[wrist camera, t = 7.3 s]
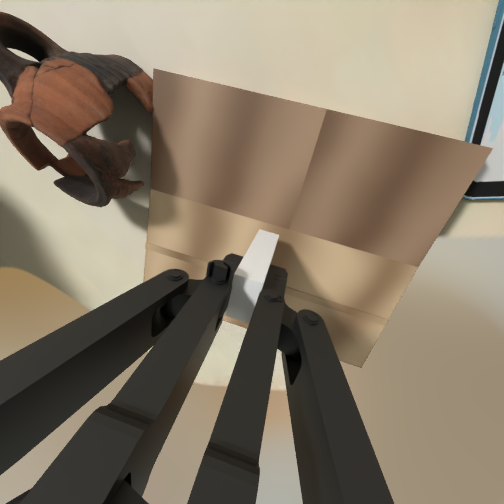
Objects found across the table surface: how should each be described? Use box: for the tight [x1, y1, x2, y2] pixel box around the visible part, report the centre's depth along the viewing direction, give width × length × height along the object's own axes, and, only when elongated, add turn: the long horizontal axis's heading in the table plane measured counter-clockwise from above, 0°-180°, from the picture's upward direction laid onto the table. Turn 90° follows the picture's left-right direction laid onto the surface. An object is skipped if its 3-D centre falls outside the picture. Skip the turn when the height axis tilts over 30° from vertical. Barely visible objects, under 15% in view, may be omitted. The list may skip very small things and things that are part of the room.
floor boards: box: [151, 69, 493, 267], centre depth 17 cm, size 21×8×2 cm, turn 76°
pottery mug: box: [0, 12, 153, 207], centre depth 17 cm, size 12×10×8 cm
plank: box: [143, 189, 418, 368], centre depth 21 cm, size 21×10×2 cm, turn 77°
